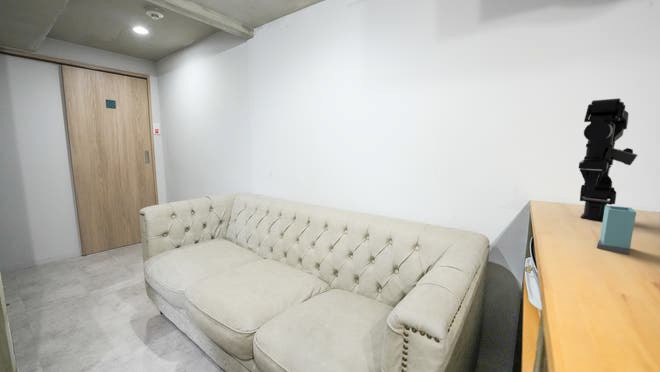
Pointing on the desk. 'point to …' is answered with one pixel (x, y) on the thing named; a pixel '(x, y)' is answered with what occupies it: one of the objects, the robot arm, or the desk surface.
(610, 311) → the desk surface
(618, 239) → the teal sleeve
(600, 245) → the dark grey square plate
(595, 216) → the robot arm
